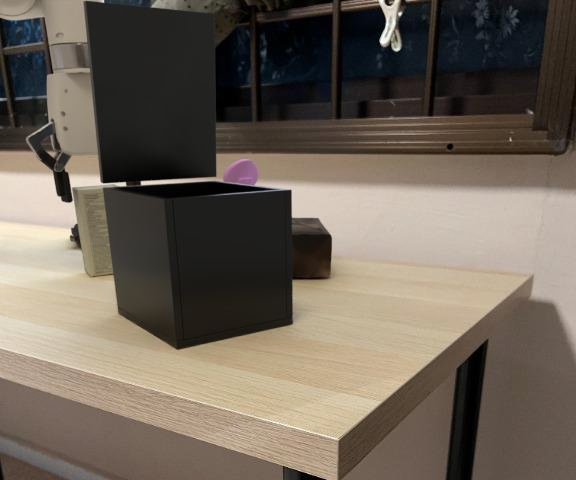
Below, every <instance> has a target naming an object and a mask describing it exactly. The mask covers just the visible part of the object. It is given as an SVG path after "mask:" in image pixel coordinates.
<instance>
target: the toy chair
mask: <svg viewBox="0 0 576 480" xmlns="http://www.w3.org/2000/svg"><path fill="white" fill-rule="evenodd" d="M258 180H259V169H258V167H257V165H256V163H255V162H254V161H253V160H251V159H248V158H242V159H238V160H236V161H235V162H233V163H231V164H230V165H229V166H227V168H225V170H224V172H223V175H222V181H223V182H232V183H240V184H248V185H256V184H257V182H258Z"/></svg>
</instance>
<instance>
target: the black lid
mask: <svg viewBox="0 0 576 480" xmlns="http://www.w3.org/2000/svg"><path fill="white" fill-rule="evenodd" d="M83 3H84V13H85V24H86V34H87V45H88V55H89V66H90V76H91V87H92V97H93V108H94V118H95V129H96V139H97V149H98V155H97V159H98V169H99V179H100V183H101V184H102V185H105V184H119V183H126V182H138V181H141V182H152V181H153V182H154V181H170V180H172V181H173V180H186V179H199V178H200V179H203V178H206V179H207V178H217V111H216V110H217V107H216V105H217V104H216V103H217V102H216V101H217V100H216V99H217V98H216V96H217V95H216V37H215V36H216V25H215V18H216V17H215V13H212V12H203V11H202V12H201V11H193V10H183V9H182V10H181V9H173V8H162V7H152V6H145V5H144V6H143V5H133V4H123V3H113V2H105V1H104V2H94V1H83Z"/></svg>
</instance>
